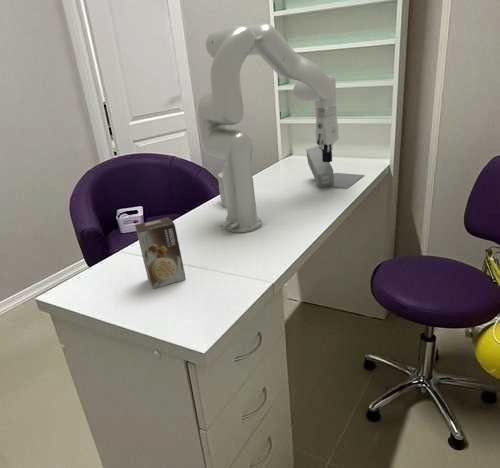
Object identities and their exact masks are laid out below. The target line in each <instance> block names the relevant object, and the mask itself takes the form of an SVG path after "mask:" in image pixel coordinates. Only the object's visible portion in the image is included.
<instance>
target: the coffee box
mask: <svg viewBox="0 0 500 468" xmlns="http://www.w3.org/2000/svg"><path fill="white" fill-rule="evenodd" d="M134 227H135V231H136V234H137V239H138V244H139V248H140V251H141V255H142V256H141V257H142V259H143V263H144V268H145V272H146V276H147V279H148V282H149V285H150V286H151V289H153V288H154V289H157V288H161V287H164V286H168V285H171V284H174V283H177V282H181V281H184V280H187V279H186V278H187V277H186V273H185V267H184V264H183V263H184V262H183V258H182V254H181V253H182V252H181V249H180V244H179V239H178V233H177V229H176V224H175V223H174V221H173V219H171V218H170V216H166V217H162V218H158V219H155V220H151V221H146V222H142V223H137V224H134Z"/></svg>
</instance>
